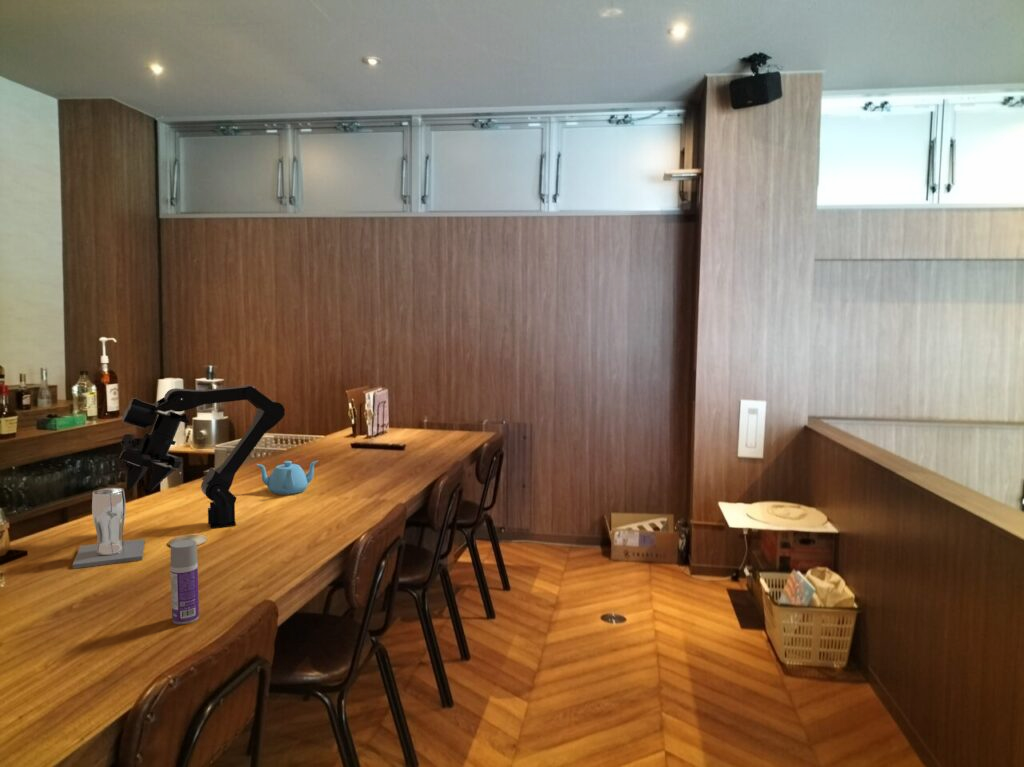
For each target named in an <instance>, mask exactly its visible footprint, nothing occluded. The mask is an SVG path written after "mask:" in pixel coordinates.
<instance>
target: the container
mask: <svg viewBox="0 0 1024 767" xmlns="http://www.w3.org/2000/svg"><path fill="white" fill-rule="evenodd" d="M197 547H198V546H197V545H196V541H194V540H182V541H177V542H174V543H172V544H171V547H170V591H171V592H170V594H171V598H170V599H171V620H172V623H173V624H175V625H187V624H191V623H194V622H196V621H197V620H199V618H200V611H199V610H200V607H199V606H200V605H199V604H200V603H199V566H198V551H197V550H198V549H197Z"/></svg>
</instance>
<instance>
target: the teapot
mask: <svg viewBox="0 0 1024 767" xmlns="http://www.w3.org/2000/svg"><path fill="white" fill-rule="evenodd" d="M292 462H293V461H291V460H285V461H283V464H279V465H276V466H275V468H274V469H273V471H272V472H271V474H270V476H268V475H267V469H266V467H265V465H263V464H259V463H256V466H257V467H259V468H260V472H261V480H262V483H263V484H264V485H265V486H267V488H268V490H269V491H270V492H271V494H275V495H280V496H281V495H282V496H284V495H285V496H286V495H295V494H300V493H303V492H304V491H305V490H306V489H307V488H308V487H309V483H310V482H311V483H312V481H313V478H314V475H315V474H314V473H315V472H314V471H315V469H314V468H315V466H316V464H317V463H318V462H319V460H315V461H312V462H311V463H310V465H309V469H308V470H309V471H308V473H307V474H306V472H305V471H304V469H303V468H302V467H301V465H300V464H296V463H292Z"/></svg>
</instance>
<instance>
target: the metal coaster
mask: <svg viewBox="0 0 1024 767" xmlns="http://www.w3.org/2000/svg"><path fill="white" fill-rule="evenodd" d="M182 540H194V541H196V545H198V546H201V545H203V543H204V544H205V543H207V541H208V538H207V536H206V535H202V534H188V535H187V534H186V535H181V536H177V537H174V538H171V539H169V541H168V546H169V545H170V546H171V544H172V543H174V542H177V541H182ZM170 546H169V547H170Z"/></svg>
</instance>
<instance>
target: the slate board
mask: <svg viewBox="0 0 1024 767" xmlns="http://www.w3.org/2000/svg"><path fill="white" fill-rule="evenodd" d="M123 541H124V545H125V550H124V551H123V552H121V553H118V554H114V555H107V556H102V555H97V554H96V548H97V543H95V544H87V545H80V546H79V549H78V551H77V553H76V556H75V558H74V560H73V563H72V569H74V570H75V569H76V570H77V569H82V568H84V569H85V568H90V567H99V565H100V566H106V564H108V565H113V564H115V563H116V564H121V563H122V564H123V562H124V563H129V561H132V562H137V560H140V561H143V558H144V552H143V551H144V550H145V545H144V544H146V543H145V542H146V540H145V538H140V539H138V538H137V539H131V540H130V539H129V540H123ZM116 564H115V565H116Z"/></svg>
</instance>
